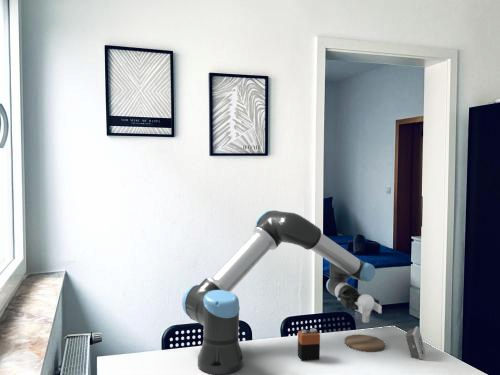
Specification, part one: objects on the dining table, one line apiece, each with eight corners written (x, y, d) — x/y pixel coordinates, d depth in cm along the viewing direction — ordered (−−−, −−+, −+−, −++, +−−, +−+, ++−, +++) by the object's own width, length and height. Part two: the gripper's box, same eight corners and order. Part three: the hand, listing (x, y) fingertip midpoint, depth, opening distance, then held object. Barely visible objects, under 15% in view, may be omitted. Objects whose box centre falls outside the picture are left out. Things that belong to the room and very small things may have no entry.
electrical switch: (422, 361, 147) (420, 334, 148) (406, 359, 150) (404, 332, 150) (425, 351, 156) (423, 326, 156) (410, 350, 158) (408, 325, 158)
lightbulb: (374, 326, 158) (375, 297, 158) (357, 325, 159) (357, 296, 159) (373, 321, 164) (373, 292, 164) (356, 319, 166) (357, 291, 166)
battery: (320, 360, 146) (320, 331, 146) (301, 361, 145) (301, 332, 145) (315, 355, 151) (316, 327, 151) (297, 356, 149) (297, 328, 149)
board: (336, 342, 163) (336, 339, 163) (361, 334, 172) (361, 331, 172) (368, 355, 151) (368, 352, 151) (393, 346, 160) (393, 343, 160)
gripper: (367, 301, 181) (395, 319, 159) (324, 303, 178) (347, 321, 155) (368, 284, 181) (396, 299, 158) (325, 285, 178) (347, 301, 155)
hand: (371, 310), depth 157 cm, fingers closed on lightbulb, 6 cm apart
